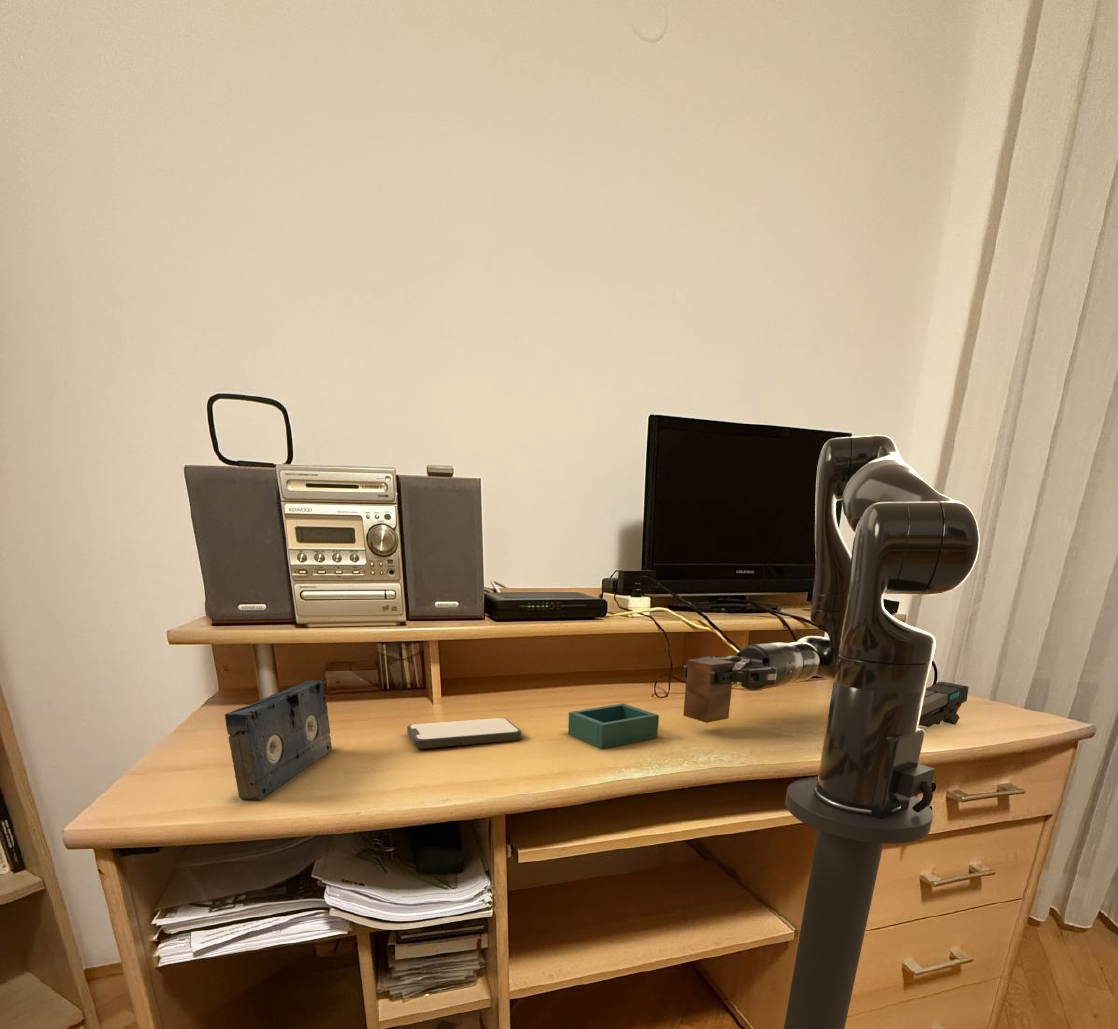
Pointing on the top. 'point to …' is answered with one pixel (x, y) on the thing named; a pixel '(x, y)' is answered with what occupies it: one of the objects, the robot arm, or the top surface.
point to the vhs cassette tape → (278, 738)
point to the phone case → (462, 732)
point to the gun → (942, 703)
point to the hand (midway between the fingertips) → (698, 675)
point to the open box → (613, 725)
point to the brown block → (706, 691)
